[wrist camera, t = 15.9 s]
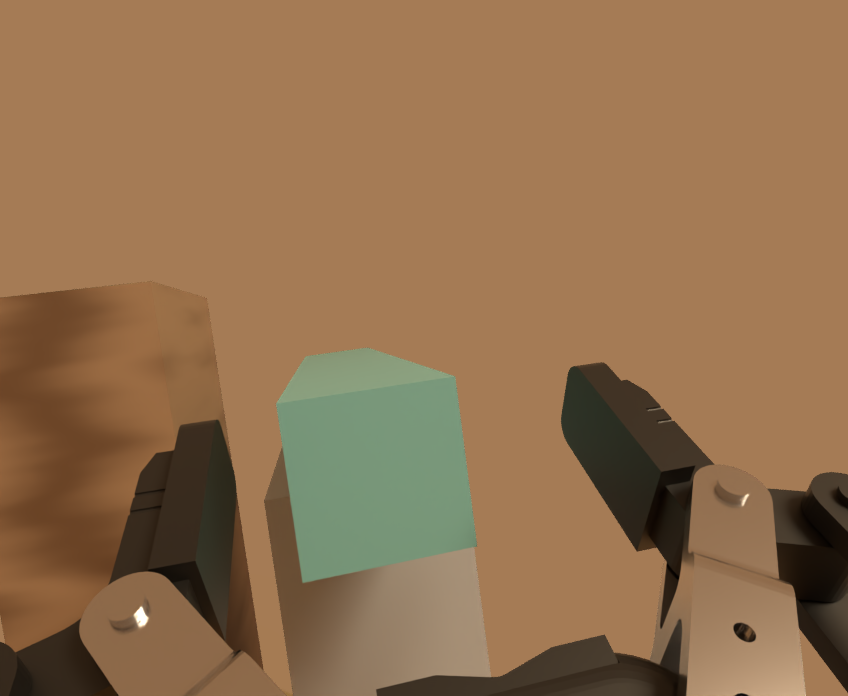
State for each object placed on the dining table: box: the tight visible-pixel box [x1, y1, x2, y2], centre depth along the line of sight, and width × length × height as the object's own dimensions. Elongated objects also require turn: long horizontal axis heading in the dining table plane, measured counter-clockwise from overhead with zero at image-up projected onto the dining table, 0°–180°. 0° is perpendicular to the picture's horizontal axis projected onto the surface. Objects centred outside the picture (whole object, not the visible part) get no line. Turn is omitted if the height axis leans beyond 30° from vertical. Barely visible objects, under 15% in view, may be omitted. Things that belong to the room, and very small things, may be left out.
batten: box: [276, 348, 477, 583], centre depth 24 cm, size 4×24×4 cm, turn 11°
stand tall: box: [0, 281, 263, 670], centre depth 25 cm, size 6×10×32 cm, turn 11°
